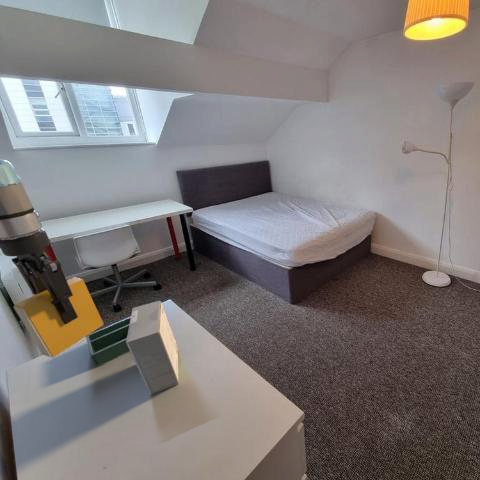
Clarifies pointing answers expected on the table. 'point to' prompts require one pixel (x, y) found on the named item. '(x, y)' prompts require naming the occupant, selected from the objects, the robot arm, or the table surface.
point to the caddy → (109, 342)
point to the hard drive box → (153, 347)
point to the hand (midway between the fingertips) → (65, 318)
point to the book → (59, 319)
